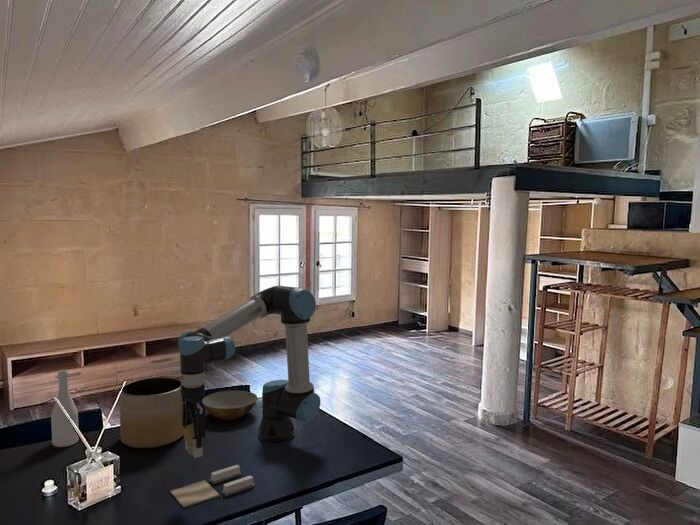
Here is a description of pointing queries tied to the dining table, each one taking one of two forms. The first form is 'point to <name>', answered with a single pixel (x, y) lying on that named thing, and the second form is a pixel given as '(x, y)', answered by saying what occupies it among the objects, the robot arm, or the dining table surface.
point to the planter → (151, 412)
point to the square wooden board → (194, 493)
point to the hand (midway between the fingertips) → (193, 452)
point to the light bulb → (189, 438)
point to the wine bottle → (60, 424)
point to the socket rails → (234, 485)
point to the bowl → (229, 404)
